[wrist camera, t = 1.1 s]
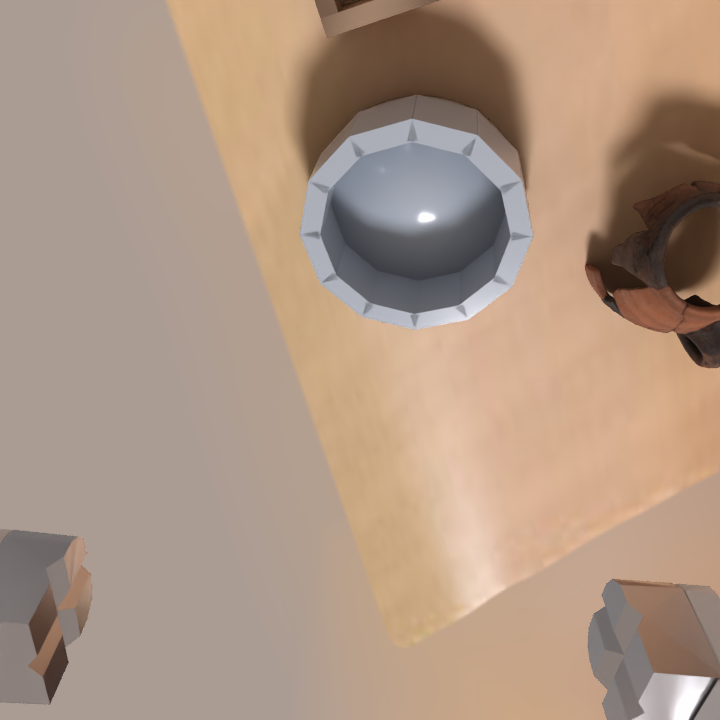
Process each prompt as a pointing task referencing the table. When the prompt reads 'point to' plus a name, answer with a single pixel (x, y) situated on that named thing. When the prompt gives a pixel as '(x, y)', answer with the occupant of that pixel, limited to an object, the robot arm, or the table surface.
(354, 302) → the bowl
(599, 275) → the pottery mug
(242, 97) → the table surface
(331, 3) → the tray
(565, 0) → the table surface
